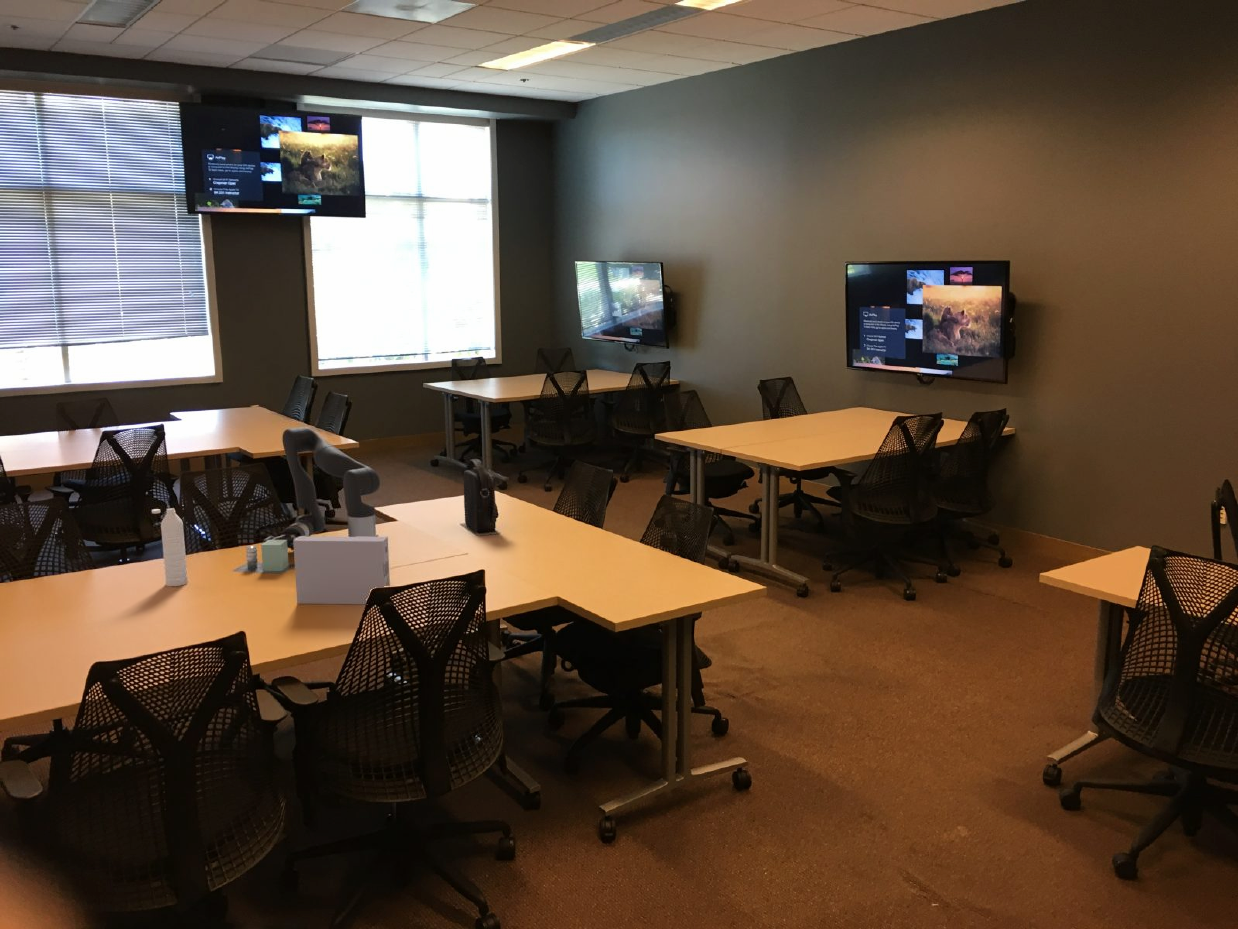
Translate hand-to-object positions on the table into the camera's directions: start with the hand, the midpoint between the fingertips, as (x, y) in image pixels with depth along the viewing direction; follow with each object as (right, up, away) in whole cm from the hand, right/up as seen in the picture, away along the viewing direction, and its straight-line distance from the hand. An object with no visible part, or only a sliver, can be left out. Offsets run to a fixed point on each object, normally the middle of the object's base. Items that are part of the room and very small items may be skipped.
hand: (279, 547), depth 335 cm
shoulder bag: (+60, +2, +56) cm, 82 cm away
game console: (+31, -14, -33) cm, 47 cm away
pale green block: (0, -7, -3) cm, 8 cm away
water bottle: (-29, -11, -16) cm, 35 cm away
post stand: (-4, -8, -3) cm, 9 cm away
